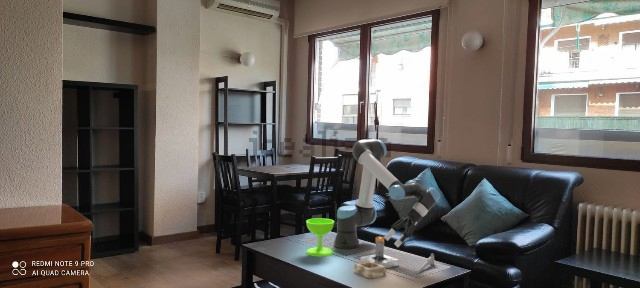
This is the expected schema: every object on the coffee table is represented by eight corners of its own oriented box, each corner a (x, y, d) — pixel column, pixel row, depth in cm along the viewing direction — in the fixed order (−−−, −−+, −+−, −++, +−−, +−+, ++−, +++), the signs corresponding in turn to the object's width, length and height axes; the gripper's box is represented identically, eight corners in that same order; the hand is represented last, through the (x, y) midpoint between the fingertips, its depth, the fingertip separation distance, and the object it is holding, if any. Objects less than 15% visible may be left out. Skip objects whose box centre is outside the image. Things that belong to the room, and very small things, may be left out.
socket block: (360, 262, 240) (360, 257, 239) (380, 258, 247) (380, 253, 247) (378, 269, 228) (378, 263, 228) (398, 265, 236) (398, 259, 236)
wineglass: (334, 249, 265) (335, 218, 264) (332, 257, 249) (333, 224, 248) (307, 248, 266) (307, 217, 266) (303, 256, 250) (304, 223, 250)
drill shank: (373, 263, 238) (373, 237, 238) (379, 262, 241) (380, 236, 240) (379, 265, 234) (379, 239, 234) (385, 264, 237) (386, 237, 236)
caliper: (432, 264, 239) (432, 252, 239) (434, 264, 239) (434, 252, 238) (415, 274, 223) (415, 261, 223) (417, 274, 222) (417, 261, 222)
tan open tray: (354, 271, 225) (354, 263, 224) (369, 268, 230) (370, 260, 230) (369, 278, 215) (370, 270, 214) (385, 275, 220) (385, 266, 220)
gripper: (433, 222, 229) (405, 253, 226) (411, 212, 253) (386, 241, 250) (423, 212, 228) (395, 243, 225) (402, 203, 252) (377, 232, 249)
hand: (390, 242), depth 237 cm, fingers open, 13 cm apart
